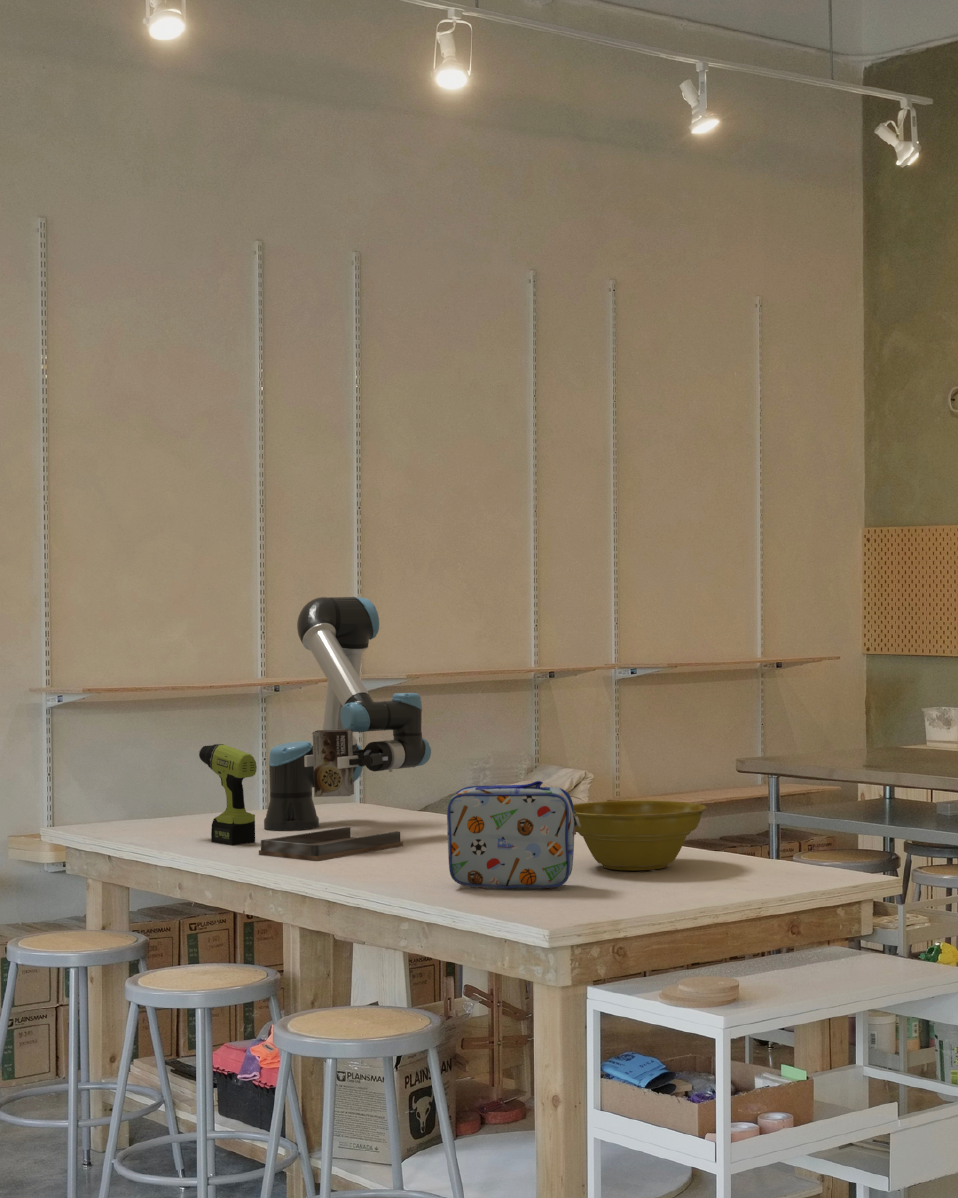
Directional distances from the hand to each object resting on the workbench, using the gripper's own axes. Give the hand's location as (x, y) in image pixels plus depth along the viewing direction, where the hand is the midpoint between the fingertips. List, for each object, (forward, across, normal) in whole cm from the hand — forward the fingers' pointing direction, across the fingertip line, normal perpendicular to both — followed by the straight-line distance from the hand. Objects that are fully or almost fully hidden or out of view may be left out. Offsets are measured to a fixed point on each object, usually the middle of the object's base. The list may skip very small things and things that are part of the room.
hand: (321, 762), depth 373 cm
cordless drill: (-1, +37, -22) cm, 43 cm away
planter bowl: (-19, -78, -22) cm, 83 cm away
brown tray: (-3, 0, -22) cm, 22 cm away
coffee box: (-4, 0, -9) cm, 10 cm away
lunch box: (+17, -72, -22) cm, 77 cm away
